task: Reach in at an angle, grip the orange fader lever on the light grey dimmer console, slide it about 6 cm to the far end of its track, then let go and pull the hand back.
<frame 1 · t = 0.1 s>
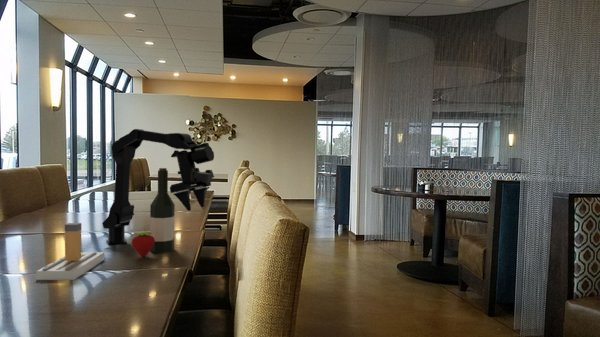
hand: (196, 208, 143), 15 cm above the table, tool pointing down, fingers open, 9 cm apart
wine bottle: (162, 250, 144), on the table
strawberry: (143, 257, 134), on the table
dimmer console: (73, 269, 119), on the table
fader lever: (73, 241, 119), point 8 cm above the table, slide at 0.0 cm
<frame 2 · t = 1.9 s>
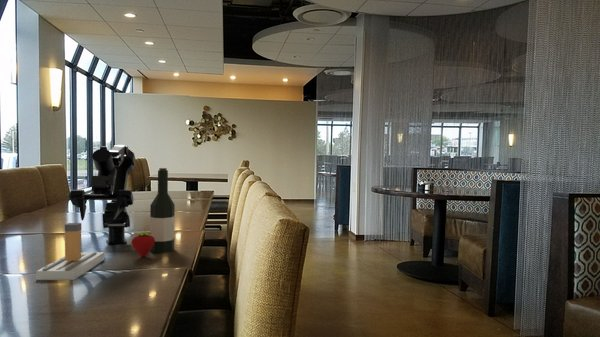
hand: (97, 219, 126), 14 cm above the table, tool tilted 40°, fingers open, 9 cm apart
nothing on the table moved.
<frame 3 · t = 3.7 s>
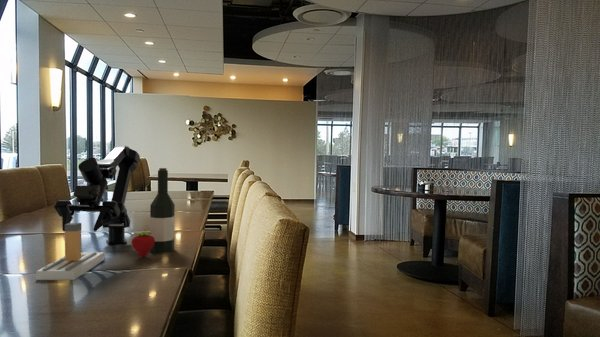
hand: (79, 230, 123), 11 cm above the table, tool tilted 45°, fingers open, 9 cm apart
nothing on the table moved.
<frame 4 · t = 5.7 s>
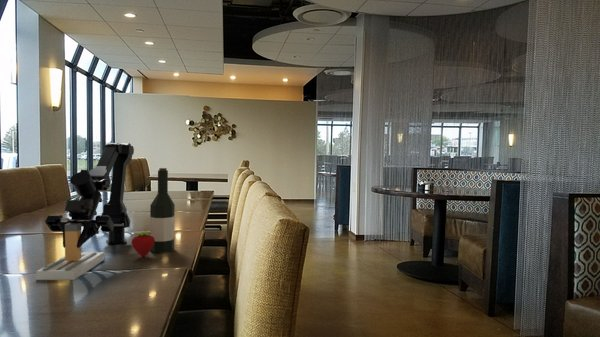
hand: (70, 247, 118), 7 cm above the table, tool tilted 45°, fingers closed on fader lever, 3 cm apart
fader lever: (73, 241, 119), point 8 cm above the table, slide at 0.0 cm, touching gripper
everything else where it was.
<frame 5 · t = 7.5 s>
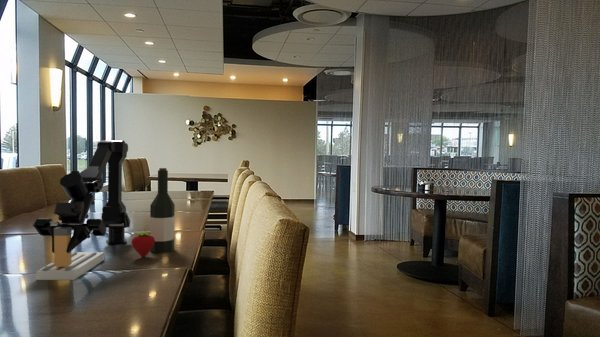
hand: (60, 252, 112), 7 cm above the table, tool tilted 45°, fingers closed on fader lever, 3 cm apart
fader lever: (62, 246, 113), point 8 cm above the table, slide at 6.0 cm, touching gripper
everything else where it was.
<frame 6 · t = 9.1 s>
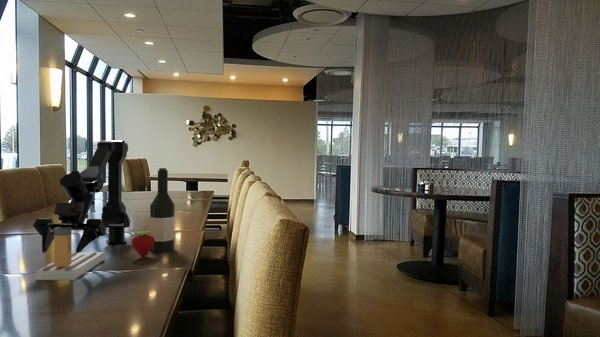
hand: (60, 252, 112), 7 cm above the table, tool tilted 45°, fingers open, 9 cm apart
fader lever: (62, 246, 113), point 8 cm above the table, slide at 6.0 cm
everything else where it was.
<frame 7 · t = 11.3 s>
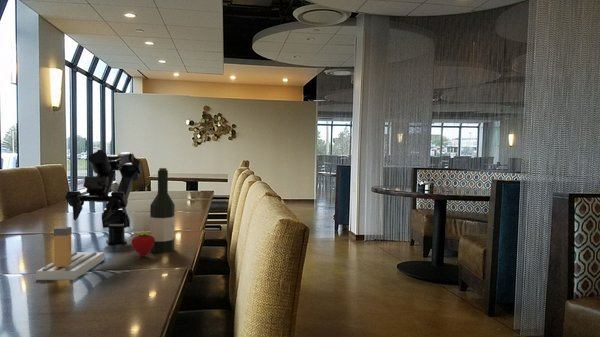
hand: (89, 219, 128), 13 cm above the table, tool tilted 45°, fingers open, 9 cm apart
nothing on the table moved.
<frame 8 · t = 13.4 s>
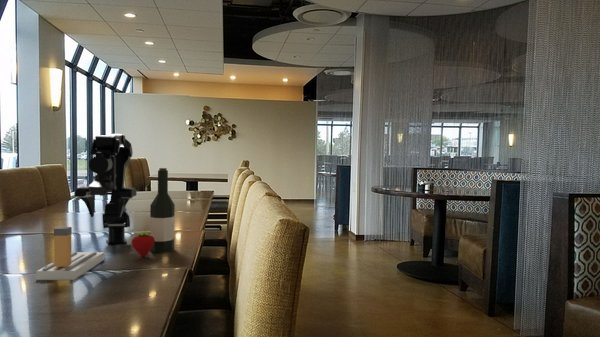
hand: (106, 216, 136), 13 cm above the table, tool pointing down, fingers open, 9 cm apart
nothing on the table moved.
at the end: fader lever slide at 6.0 cm; the gripper is holding nothing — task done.
